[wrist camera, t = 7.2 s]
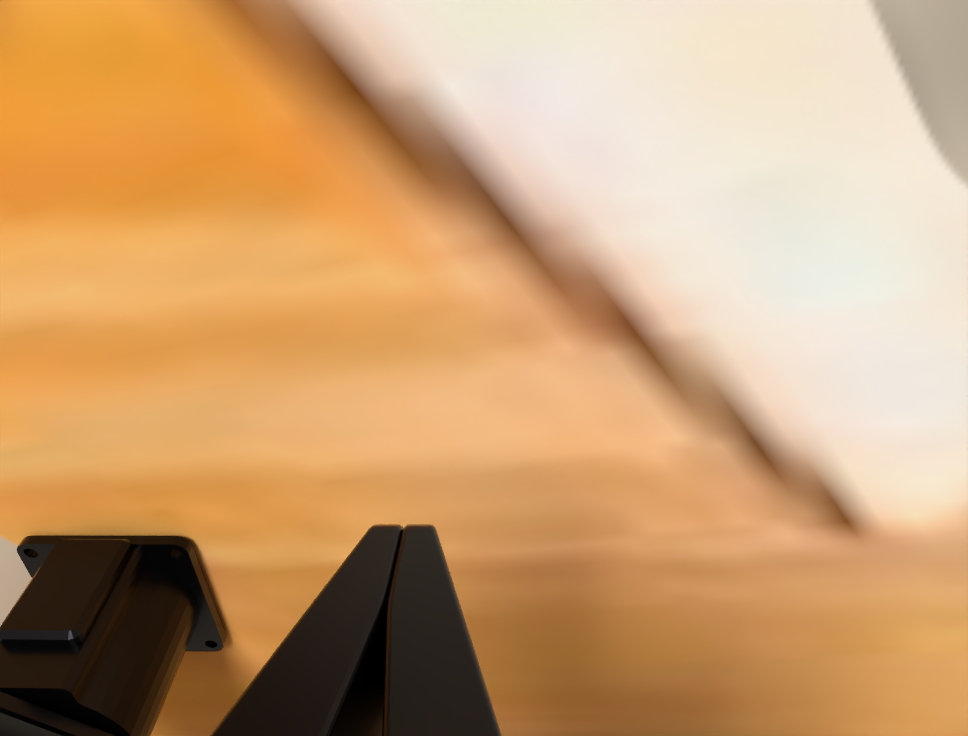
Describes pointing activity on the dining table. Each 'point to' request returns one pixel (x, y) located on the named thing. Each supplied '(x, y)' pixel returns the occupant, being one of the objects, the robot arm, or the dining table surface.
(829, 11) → the dining table surface
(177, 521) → the dining table surface
